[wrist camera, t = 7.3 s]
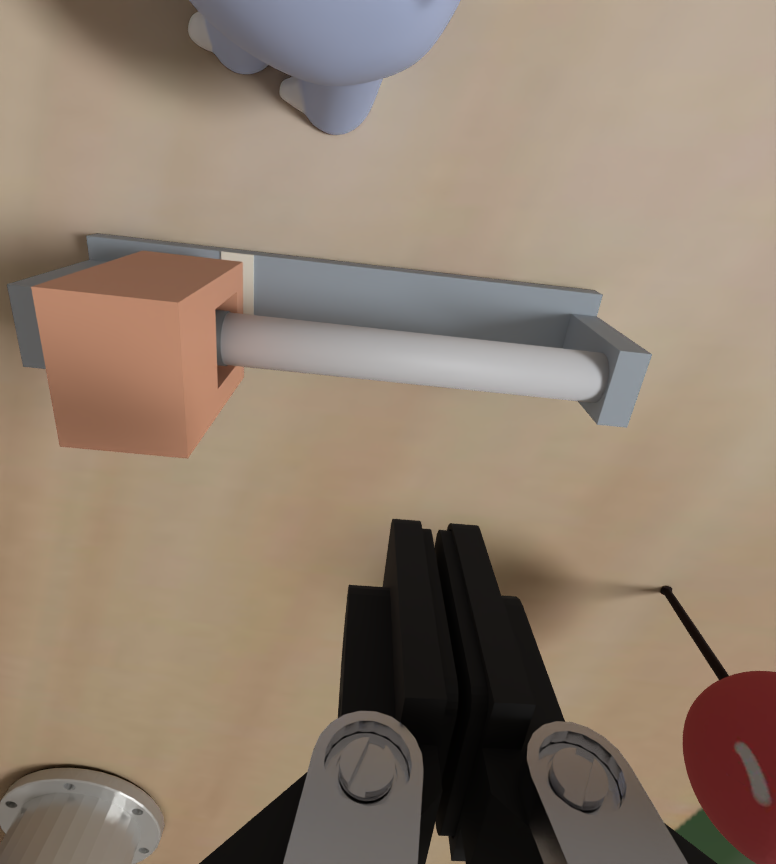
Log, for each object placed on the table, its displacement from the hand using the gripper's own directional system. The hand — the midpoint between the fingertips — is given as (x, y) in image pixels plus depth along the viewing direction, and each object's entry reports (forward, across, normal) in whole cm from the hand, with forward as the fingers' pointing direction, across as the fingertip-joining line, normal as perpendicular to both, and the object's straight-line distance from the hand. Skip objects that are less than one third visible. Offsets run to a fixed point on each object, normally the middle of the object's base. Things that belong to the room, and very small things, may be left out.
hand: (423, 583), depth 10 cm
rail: (+17, +2, -1) cm, 18 cm away
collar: (+15, +9, -1) cm, 17 cm away
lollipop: (+18, -19, +14) cm, 29 cm away
